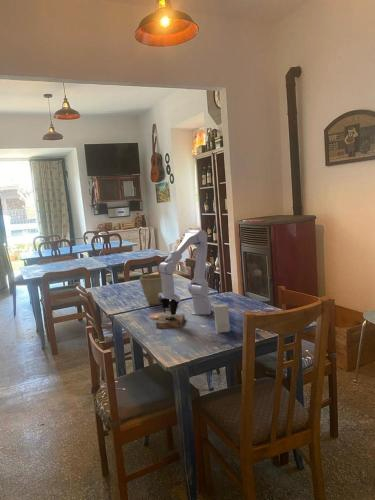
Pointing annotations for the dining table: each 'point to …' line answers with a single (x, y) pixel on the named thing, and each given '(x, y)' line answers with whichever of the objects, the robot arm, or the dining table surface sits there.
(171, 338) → the dining table surface
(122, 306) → the dining table surface
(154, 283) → the plant pot
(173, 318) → the end cover
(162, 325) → the housing
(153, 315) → the dish
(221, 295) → the dining table surface
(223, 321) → the skincare box
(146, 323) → the dining table surface
